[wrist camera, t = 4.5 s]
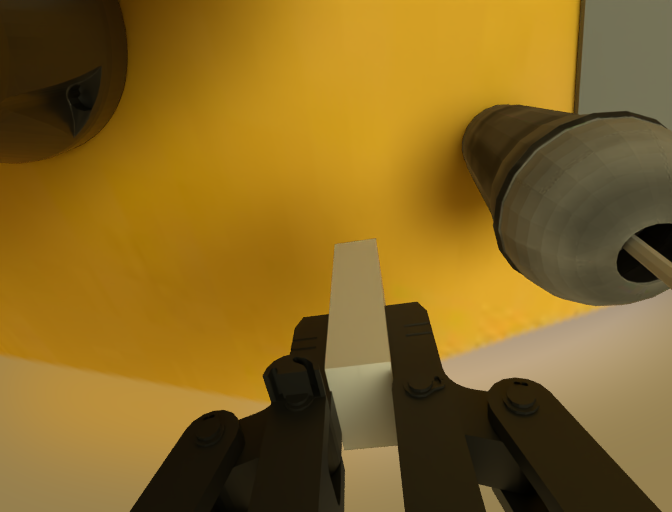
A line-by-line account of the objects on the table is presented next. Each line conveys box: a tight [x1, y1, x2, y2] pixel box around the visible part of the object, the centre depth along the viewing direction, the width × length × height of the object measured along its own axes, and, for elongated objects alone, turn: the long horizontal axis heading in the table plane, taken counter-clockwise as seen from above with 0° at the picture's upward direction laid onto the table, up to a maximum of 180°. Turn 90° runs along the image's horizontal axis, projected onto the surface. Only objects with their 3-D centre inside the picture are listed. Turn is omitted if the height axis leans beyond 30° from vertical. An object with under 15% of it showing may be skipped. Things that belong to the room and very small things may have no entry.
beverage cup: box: [462, 104, 672, 306], centre depth 18 cm, size 7×7×20 cm
